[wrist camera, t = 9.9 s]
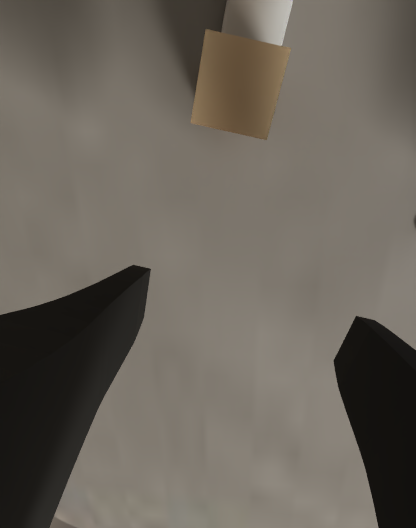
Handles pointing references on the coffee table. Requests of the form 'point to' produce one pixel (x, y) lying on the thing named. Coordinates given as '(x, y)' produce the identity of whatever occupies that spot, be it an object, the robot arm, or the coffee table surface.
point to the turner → (243, 68)
